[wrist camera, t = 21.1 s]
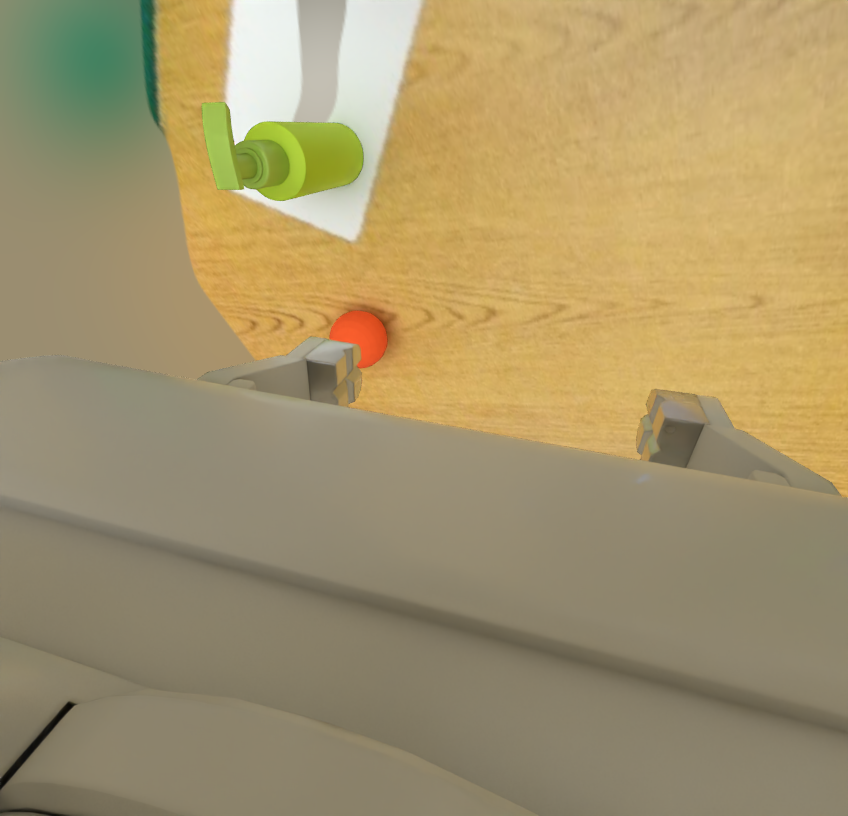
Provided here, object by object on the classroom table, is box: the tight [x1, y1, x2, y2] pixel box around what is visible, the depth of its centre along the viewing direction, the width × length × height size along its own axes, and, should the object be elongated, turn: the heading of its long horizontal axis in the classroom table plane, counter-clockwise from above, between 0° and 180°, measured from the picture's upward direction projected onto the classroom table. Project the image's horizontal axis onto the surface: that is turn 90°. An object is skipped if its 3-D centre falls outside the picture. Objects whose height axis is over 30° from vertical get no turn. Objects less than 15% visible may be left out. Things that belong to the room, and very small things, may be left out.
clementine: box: [330, 311, 387, 368], centre depth 57 cm, size 8×7×7 cm
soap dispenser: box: [202, 102, 363, 201], centre depth 41 cm, size 6×7×20 cm
